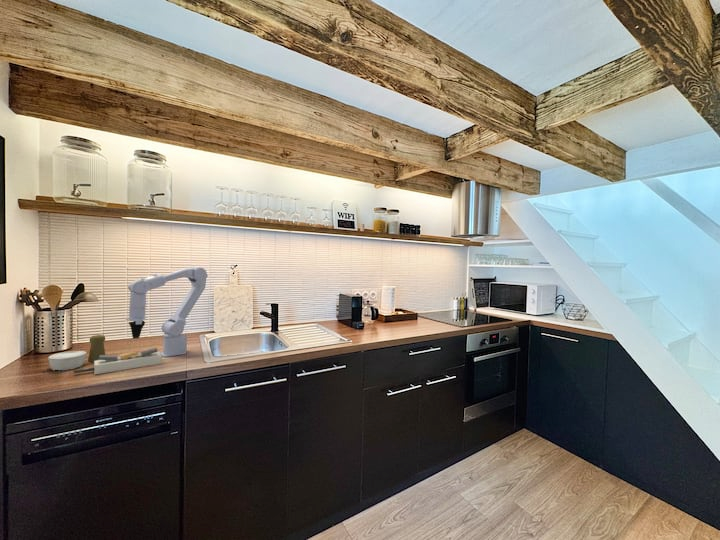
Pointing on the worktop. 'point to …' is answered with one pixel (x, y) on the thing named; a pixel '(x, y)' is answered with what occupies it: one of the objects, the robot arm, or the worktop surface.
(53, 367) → the ramekin
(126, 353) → the rocker middle
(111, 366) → the rocker switch panel
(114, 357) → the block
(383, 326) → the worktop surface
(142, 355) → the block
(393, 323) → the worktop surface
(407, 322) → the worktop surface
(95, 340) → the olive-brown rounded piece
